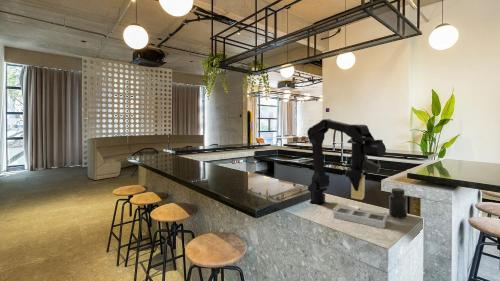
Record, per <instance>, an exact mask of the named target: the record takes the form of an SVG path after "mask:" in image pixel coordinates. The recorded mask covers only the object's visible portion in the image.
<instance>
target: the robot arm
mask: <svg viewBox="0 0 500 281" xmlns="http://www.w3.org/2000/svg"><path fill="white" fill-rule="evenodd" d="M329 130H332V131H335V132H336V131H338V132H340V133H344V134H345V135H346V136H347V137H349V138H350V139H349V140H347V141H346V142H347V143H348V144H351V154H350V157H349V159H350V160H351V162H350V166H349V169H348V168H347V170H346V171H345V172H344V177H347V178H349V181H350V184H351V183H352V185H353V187H354V189H355V191H358V188H359V184H360V179H362V178H363V177H364V176H363V174H364V175H365V176H366V175H367V174H369V172H372V173H374V174H378V173H379V171H380V169H381V167H382V164H380V160H378V159H374V160H373V161H372V160H369V158H368V156H371V157H377V158H382V157H384V156H385V155H386V150H387V147H386V145H385V143H384V142H383V139H375V137H373V135H372V133H371V132H370V129H369V126H368V125H366V124H349V123H345V122H340V121H336V120H333V119H330V118H328V119H327V118H326V119H322V120H320V121H319V122H318V123H316V124H314V125H312V126H311V127H309V128H308V130H307V133H306V134H307V138H308V141H309V142H310V144H311V147H312V148H311V149H312V159H313V171H314V172H313V174H312V176H311V183H310V184H308V186H307V191H308V192H310V201H309V204H314V205H320V206H323V204H324V203H326V194H325V192H326V191H327V190H328V187H329V186H330V175H329V174H327V173H326V171H325V165H324V164H325V163H324V154H323V143H324V140H325V134H327V133H328V131H329Z"/></svg>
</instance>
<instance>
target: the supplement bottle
mask: <svg viewBox="0 0 500 281" xmlns="http://www.w3.org/2000/svg"><path fill="white" fill-rule="evenodd" d="M388 213H389V214H388V215H389V216H390V217H392V218H394V219H401V220H402V219H406V218H407V217H408V197H407V196H406V195H405V189H403V188H399V187H398V188H397V187H394V188H393V187H392V188H391V194H390V195H389V196H388Z"/></svg>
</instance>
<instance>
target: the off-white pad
mask: <svg viewBox="0 0 500 281" xmlns="http://www.w3.org/2000/svg"><path fill="white" fill-rule="evenodd" d="M338 207H344V208H349V209H354V210H360V207H359V206H355V205H349V204H344V203H337V205H335V206H334V207H333V208H332V210H333V211H335V210H336V209H337V208H338Z"/></svg>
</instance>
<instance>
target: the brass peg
mask: <svg viewBox="0 0 500 281" xmlns="http://www.w3.org/2000/svg"><path fill="white" fill-rule="evenodd" d="M363 176H364V177H363V178H362V179H360V184H359V188H358V191H355V189H354V187H353V185H352V183H351V182H350V184H351V186H350V188H351V189H350V196H351V197H350V198H351V199H356V200H361V201H362V200H363V199H364V198H365V187H366V186H365V183H366V179H365V178H366V175H364V174H363Z"/></svg>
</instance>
